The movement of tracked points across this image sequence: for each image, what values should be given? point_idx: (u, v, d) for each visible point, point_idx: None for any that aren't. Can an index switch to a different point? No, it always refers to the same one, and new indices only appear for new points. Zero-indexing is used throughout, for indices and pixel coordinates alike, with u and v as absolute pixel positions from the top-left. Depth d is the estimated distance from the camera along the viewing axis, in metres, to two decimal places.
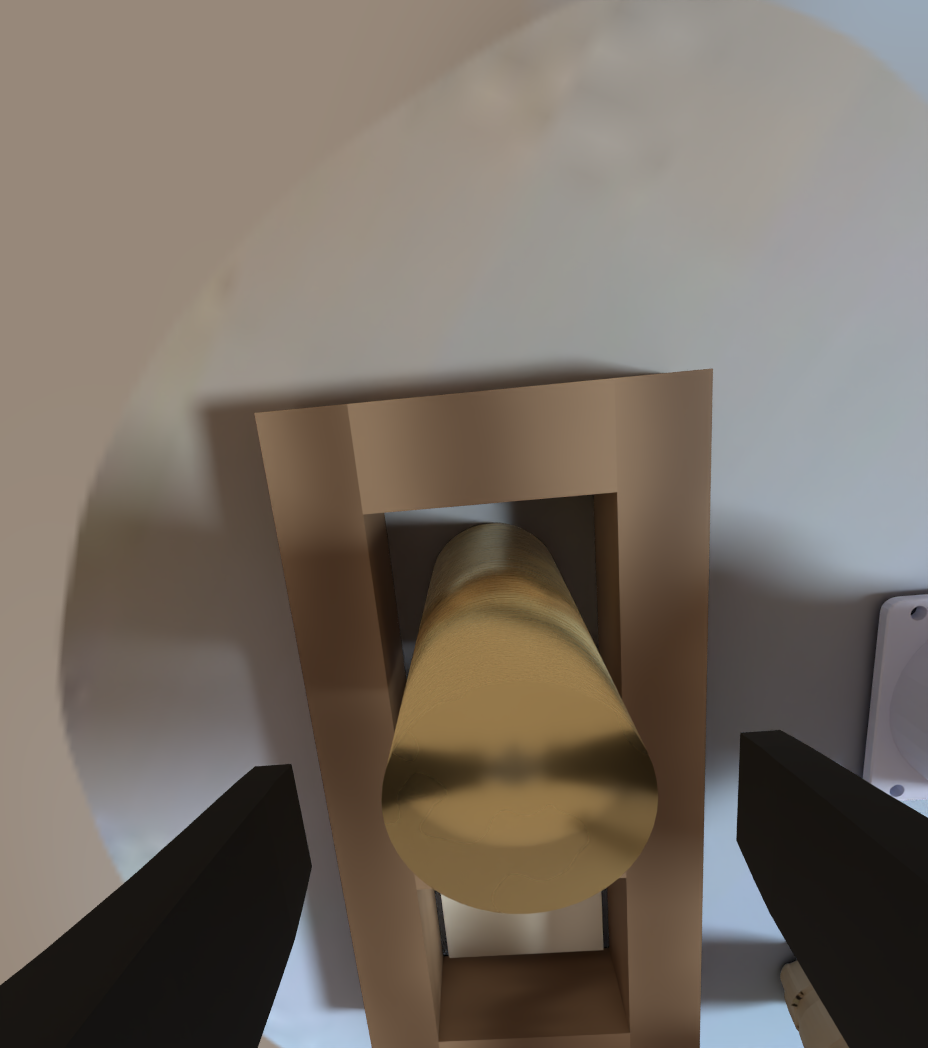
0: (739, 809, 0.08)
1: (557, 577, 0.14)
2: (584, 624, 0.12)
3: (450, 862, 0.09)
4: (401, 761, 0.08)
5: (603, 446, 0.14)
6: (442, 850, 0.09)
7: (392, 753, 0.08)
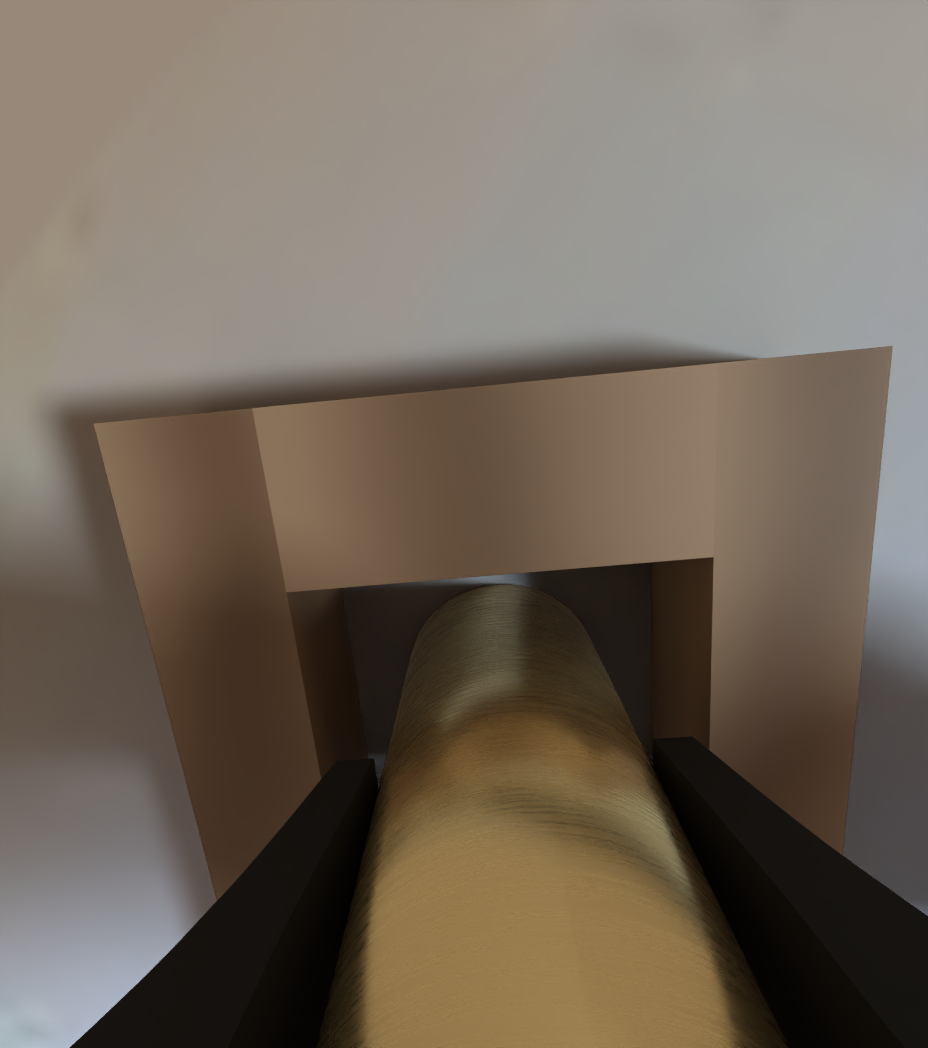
0: None
1: (612, 701, 0.08)
2: (683, 832, 0.06)
3: None
4: None
5: (693, 481, 0.08)
6: None
7: None
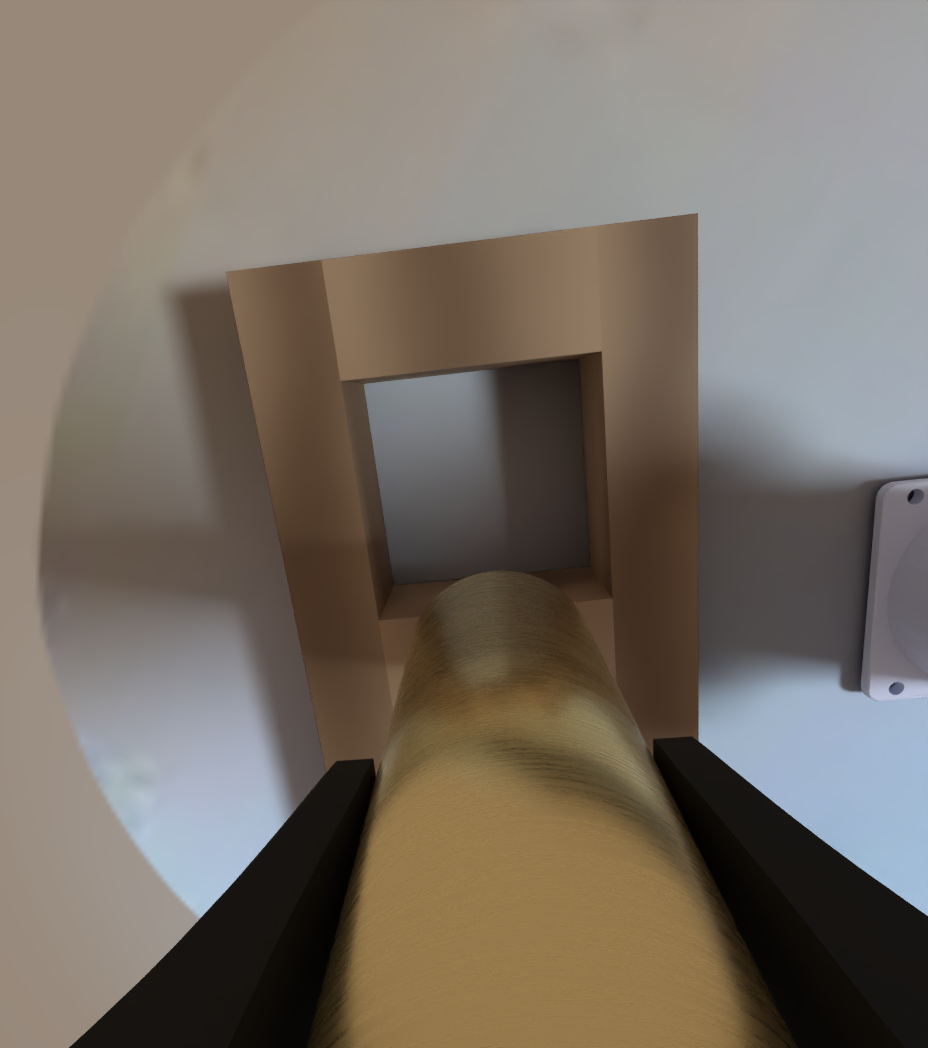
0: None
1: (606, 678, 0.09)
2: (671, 795, 0.07)
3: None
4: None
5: (586, 301, 0.13)
6: None
7: None
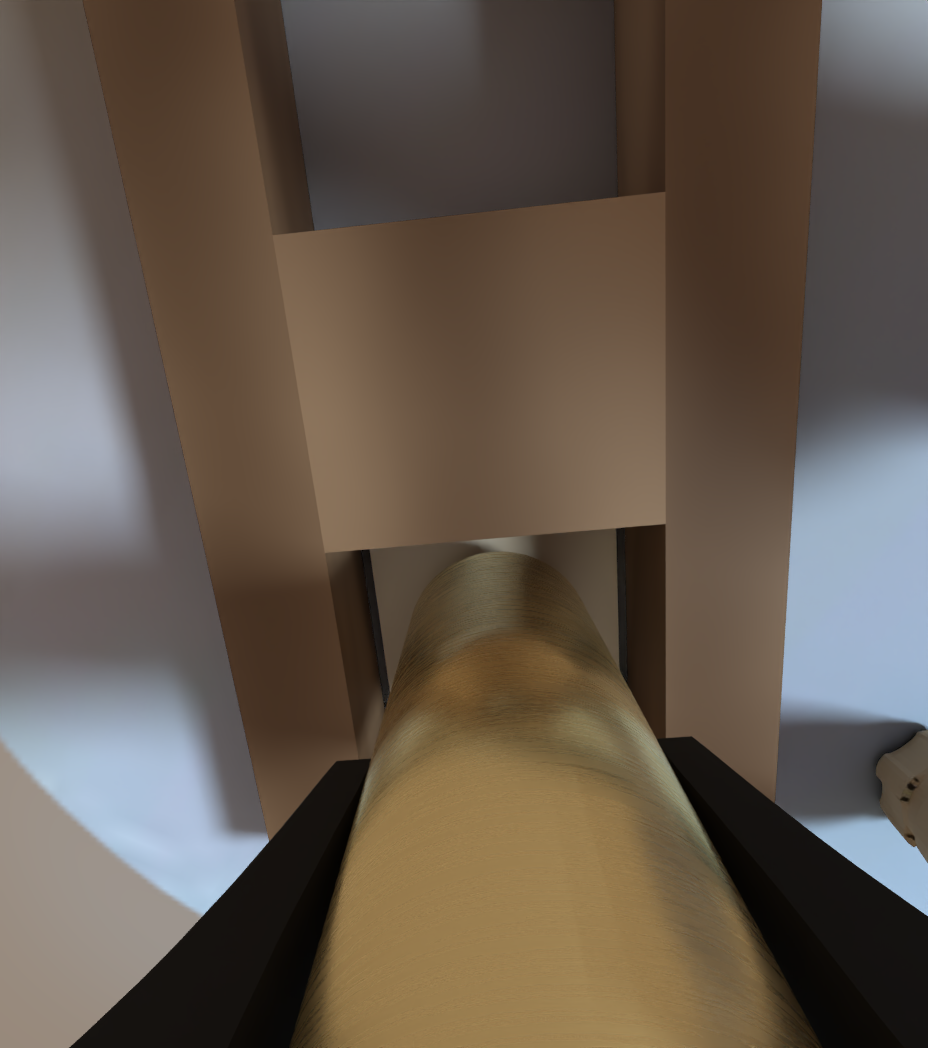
0: None
1: (600, 647, 0.09)
2: (663, 753, 0.07)
3: None
4: None
5: None
6: None
7: None
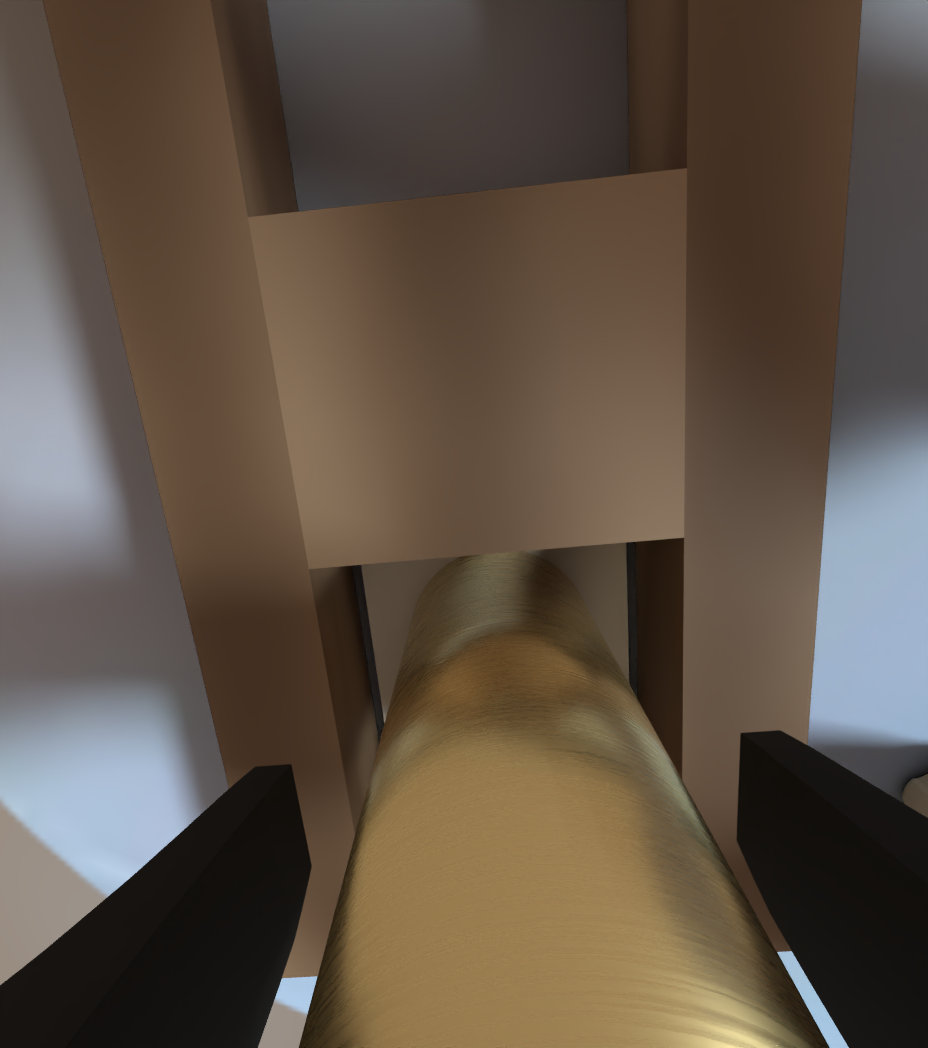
0: (739, 809, 0.08)
1: (599, 641, 0.09)
2: (660, 741, 0.07)
3: None
4: None
5: None
6: None
7: None
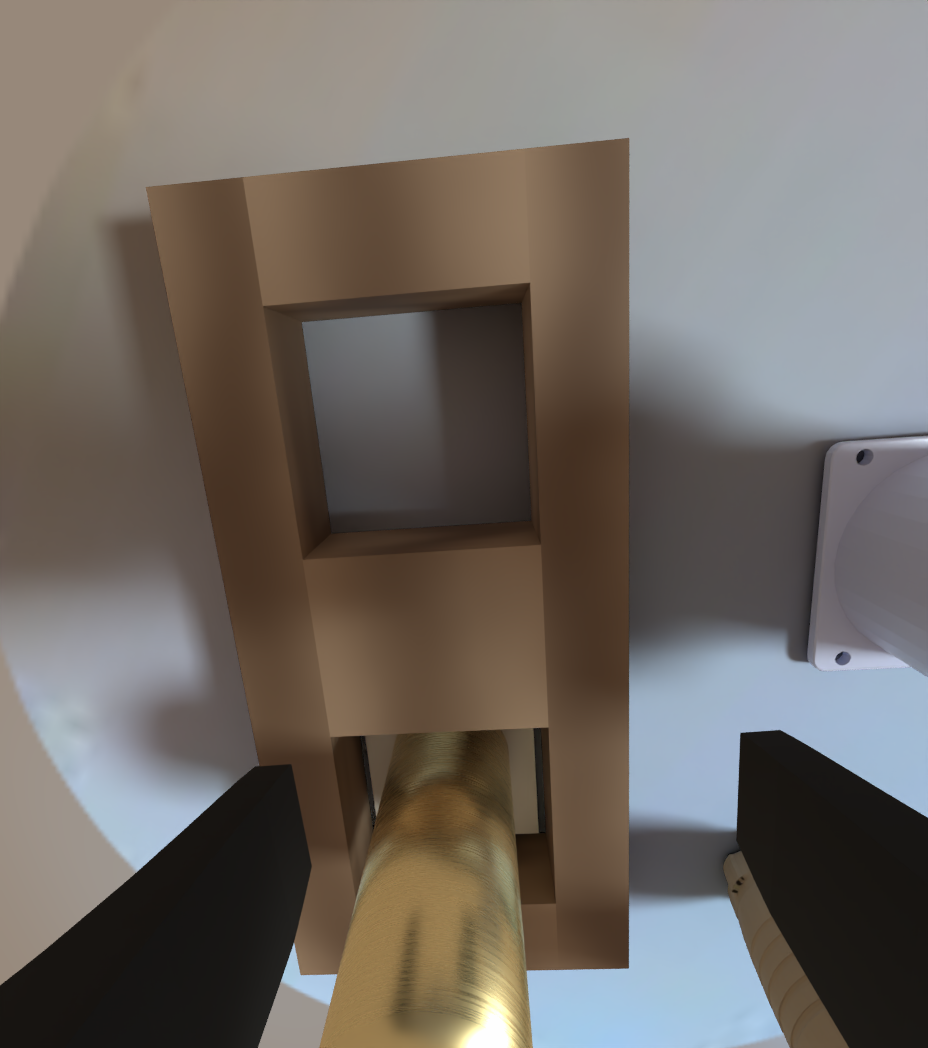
0: (739, 809, 0.08)
1: (495, 789, 0.16)
2: (508, 862, 0.14)
3: None
4: None
5: (514, 228, 0.13)
6: None
7: None
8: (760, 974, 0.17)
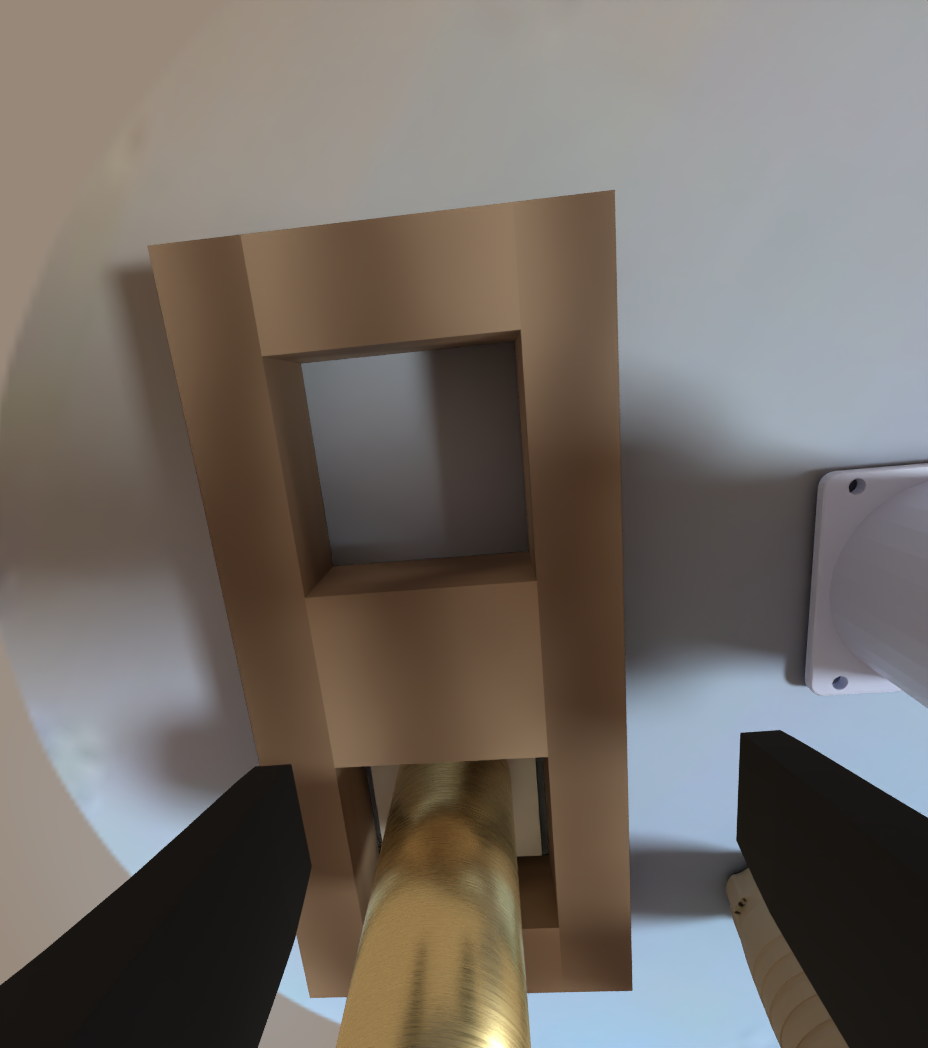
0: (739, 809, 0.08)
1: (496, 819, 0.16)
2: (509, 895, 0.14)
3: None
4: None
5: (504, 278, 0.13)
6: None
7: None
8: (762, 997, 0.18)
